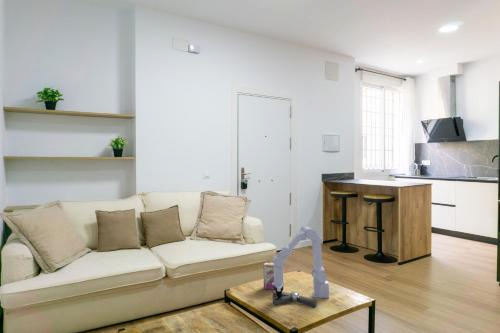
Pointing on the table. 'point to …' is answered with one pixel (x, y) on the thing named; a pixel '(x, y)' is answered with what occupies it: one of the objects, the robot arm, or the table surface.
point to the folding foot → (282, 294)
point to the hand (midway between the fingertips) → (279, 298)
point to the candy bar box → (268, 275)
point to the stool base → (294, 300)
